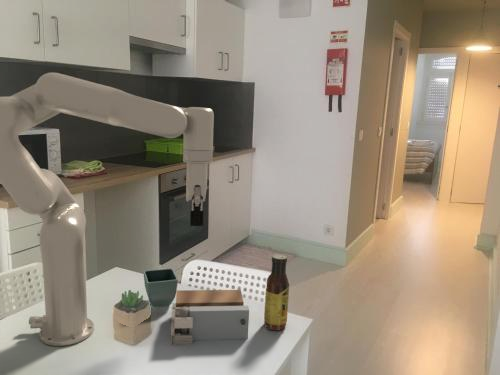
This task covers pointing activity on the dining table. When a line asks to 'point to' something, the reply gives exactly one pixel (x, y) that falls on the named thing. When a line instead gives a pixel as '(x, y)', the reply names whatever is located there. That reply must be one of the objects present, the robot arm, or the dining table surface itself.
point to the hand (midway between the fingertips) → (196, 220)
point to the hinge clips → (179, 323)
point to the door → (217, 322)
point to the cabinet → (209, 298)
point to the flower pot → (160, 286)
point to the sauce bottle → (277, 295)
